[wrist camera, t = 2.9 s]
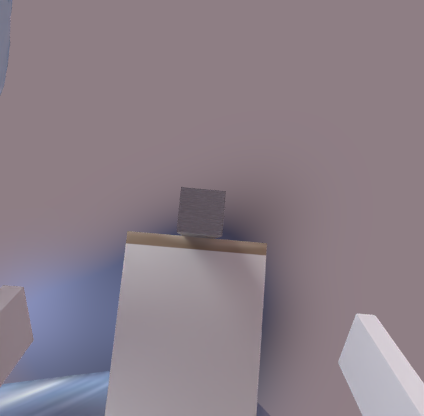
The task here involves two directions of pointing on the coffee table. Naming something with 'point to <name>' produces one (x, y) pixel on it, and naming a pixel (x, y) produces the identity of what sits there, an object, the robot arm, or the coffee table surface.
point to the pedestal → (187, 327)
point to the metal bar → (201, 213)
